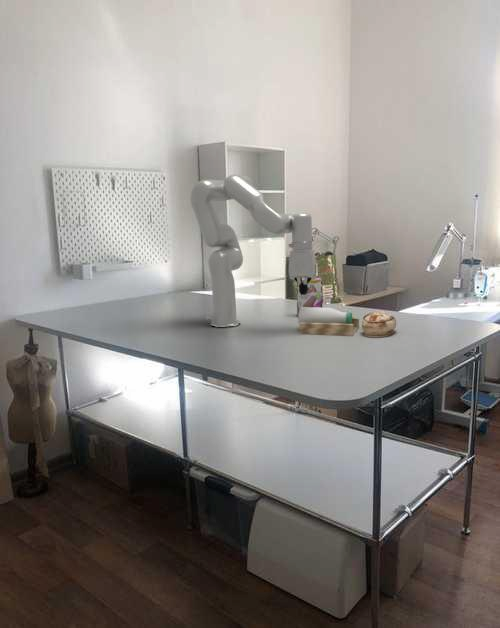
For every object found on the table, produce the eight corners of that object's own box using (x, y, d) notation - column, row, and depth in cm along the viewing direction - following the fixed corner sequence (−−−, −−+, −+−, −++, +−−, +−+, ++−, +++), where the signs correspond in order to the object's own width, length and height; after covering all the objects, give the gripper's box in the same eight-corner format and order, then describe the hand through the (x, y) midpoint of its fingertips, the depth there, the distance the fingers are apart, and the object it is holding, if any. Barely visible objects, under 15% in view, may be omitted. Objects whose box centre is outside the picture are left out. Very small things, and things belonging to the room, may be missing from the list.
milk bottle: (297, 327, 207) (349, 328, 200) (297, 307, 207) (349, 308, 200) (302, 326, 214) (353, 327, 207) (303, 306, 214) (353, 307, 207)
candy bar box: (297, 317, 236) (296, 280, 233) (297, 314, 241) (296, 278, 238) (322, 316, 235) (322, 279, 232) (322, 314, 240) (321, 277, 237)
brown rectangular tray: (299, 333, 203) (299, 323, 202) (309, 326, 216) (309, 316, 215) (352, 335, 196) (352, 325, 195) (359, 327, 209) (359, 317, 208)
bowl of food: (391, 328, 206) (391, 308, 204) (403, 336, 191) (403, 315, 190) (356, 330, 206) (356, 309, 204) (366, 338, 191) (365, 317, 189)
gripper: (280, 247, 203) (282, 295, 206) (319, 247, 197) (320, 296, 201) (286, 246, 210) (287, 292, 213) (323, 245, 204) (324, 293, 208)
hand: (303, 294), depth 207 cm, fingers closed
